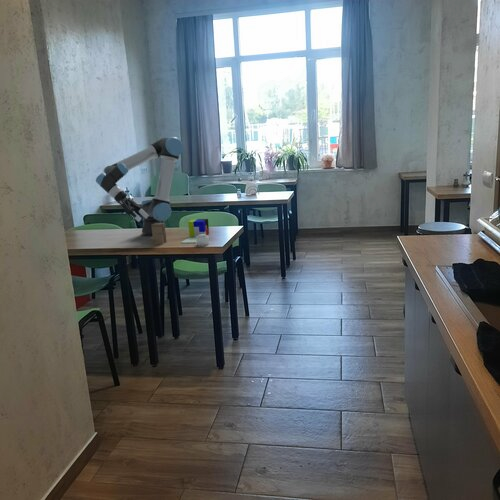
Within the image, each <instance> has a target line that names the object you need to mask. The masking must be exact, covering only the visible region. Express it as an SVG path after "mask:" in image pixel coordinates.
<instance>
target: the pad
mask: <svg viewBox="0 0 500 500" xmlns="http://www.w3.org/2000/svg"><path fill="white" fill-rule="evenodd" d="M210 239H211V237H209V236H208V240H210ZM180 243H181V244H197V242H196V237H190V236H189V237H187V238H186V239H184V240H182V241H181V242H180Z"/></svg>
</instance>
